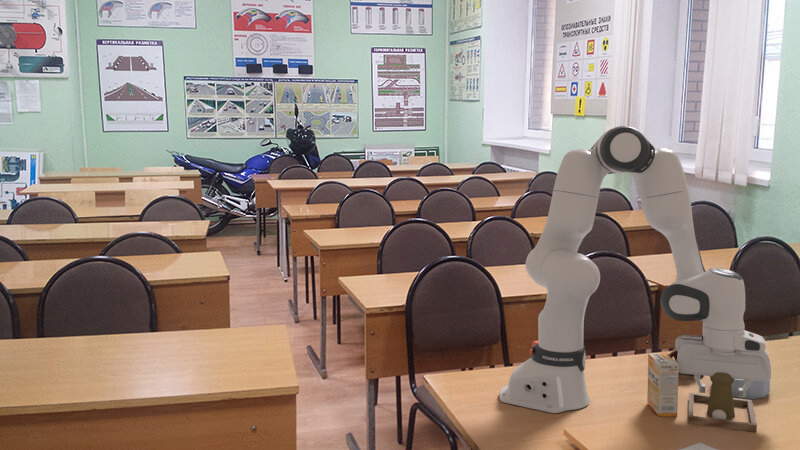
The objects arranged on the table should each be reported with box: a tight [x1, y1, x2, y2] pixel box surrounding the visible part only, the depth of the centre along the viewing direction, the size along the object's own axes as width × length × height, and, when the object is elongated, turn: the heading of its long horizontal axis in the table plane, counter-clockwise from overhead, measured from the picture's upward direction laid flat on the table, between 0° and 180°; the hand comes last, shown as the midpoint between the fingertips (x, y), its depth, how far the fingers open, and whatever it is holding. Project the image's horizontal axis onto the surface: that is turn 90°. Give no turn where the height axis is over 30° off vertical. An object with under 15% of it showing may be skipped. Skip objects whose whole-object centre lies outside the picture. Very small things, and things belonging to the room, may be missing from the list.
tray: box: [687, 392, 758, 433], centre depth 160 cm, size 14×16×2 cm
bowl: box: [731, 379, 771, 400], centre depth 175 cm, size 13×13×5 cm
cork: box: [706, 372, 736, 420], centre depth 159 cm, size 6×6×11 cm
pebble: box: [711, 409, 727, 420], centre depth 155 cm, size 3×3×3 cm
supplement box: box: [646, 352, 680, 417], centre depth 163 cm, size 8×5×13 cm, turn 178°
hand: (721, 394), depth 160 cm, fingers open, 7 cm apart
